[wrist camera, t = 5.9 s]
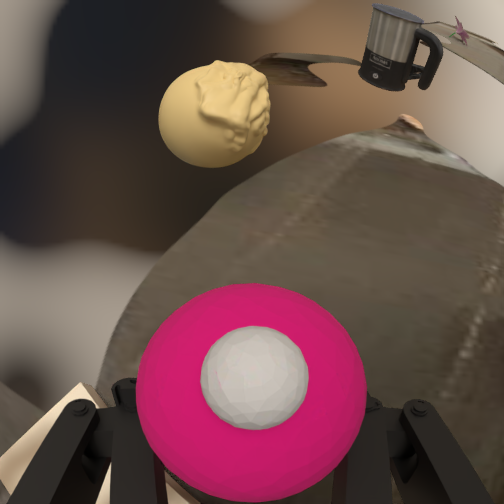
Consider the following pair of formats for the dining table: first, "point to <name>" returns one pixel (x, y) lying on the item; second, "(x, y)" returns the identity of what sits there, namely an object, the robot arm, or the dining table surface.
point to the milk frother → (397, 50)
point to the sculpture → (215, 114)
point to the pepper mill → (251, 392)
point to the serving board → (26, 447)
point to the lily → (461, 31)
